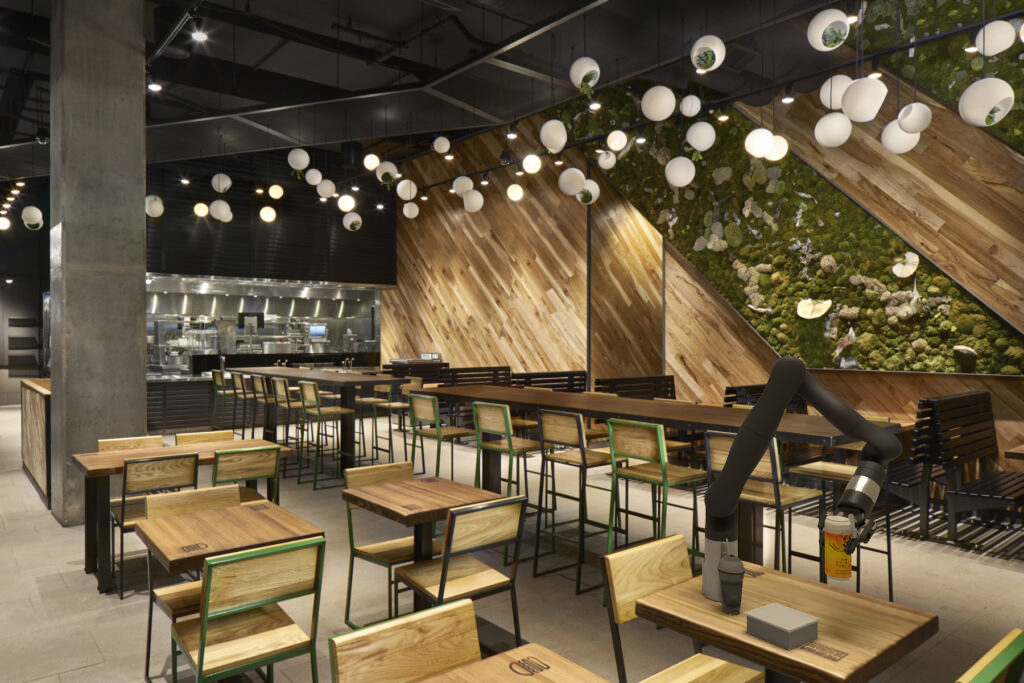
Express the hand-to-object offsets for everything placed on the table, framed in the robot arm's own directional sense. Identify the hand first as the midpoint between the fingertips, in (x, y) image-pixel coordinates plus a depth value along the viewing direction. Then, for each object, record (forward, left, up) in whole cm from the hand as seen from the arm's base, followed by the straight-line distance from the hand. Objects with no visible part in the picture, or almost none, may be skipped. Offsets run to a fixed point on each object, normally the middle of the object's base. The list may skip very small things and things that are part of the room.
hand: (834, 549), depth 166 cm
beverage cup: (-25, -8, -22) cm, 34 cm away
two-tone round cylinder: (0, +2, -7) cm, 8 cm away
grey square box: (-8, -10, -22) cm, 26 cm away
